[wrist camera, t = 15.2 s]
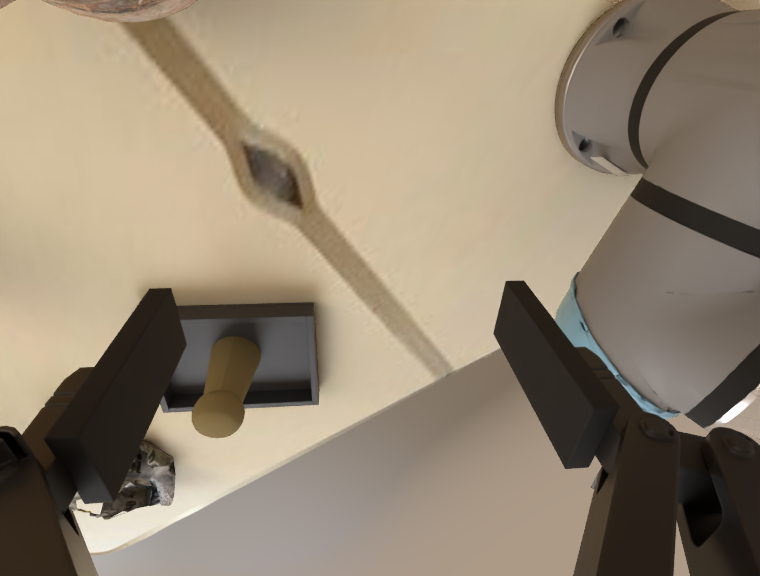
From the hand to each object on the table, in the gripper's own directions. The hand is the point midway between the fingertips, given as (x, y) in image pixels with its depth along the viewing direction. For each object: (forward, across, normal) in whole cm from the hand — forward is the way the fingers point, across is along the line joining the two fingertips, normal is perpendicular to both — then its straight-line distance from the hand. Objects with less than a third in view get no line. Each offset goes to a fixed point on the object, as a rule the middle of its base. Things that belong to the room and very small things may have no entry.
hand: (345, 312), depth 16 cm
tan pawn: (+26, -13, -25) cm, 39 cm away
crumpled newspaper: (+27, -32, -44) cm, 61 cm away
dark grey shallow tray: (+27, -13, -25) cm, 39 cm away
